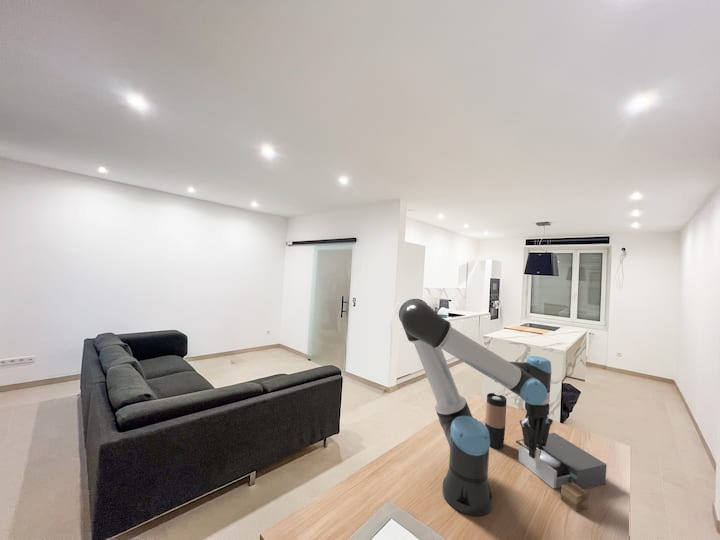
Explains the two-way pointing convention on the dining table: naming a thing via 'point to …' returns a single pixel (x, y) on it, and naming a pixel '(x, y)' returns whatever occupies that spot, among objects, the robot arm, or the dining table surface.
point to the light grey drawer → (546, 470)
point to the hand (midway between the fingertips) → (534, 465)
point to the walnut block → (574, 496)
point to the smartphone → (521, 443)
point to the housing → (577, 462)
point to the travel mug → (496, 419)
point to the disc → (549, 459)
